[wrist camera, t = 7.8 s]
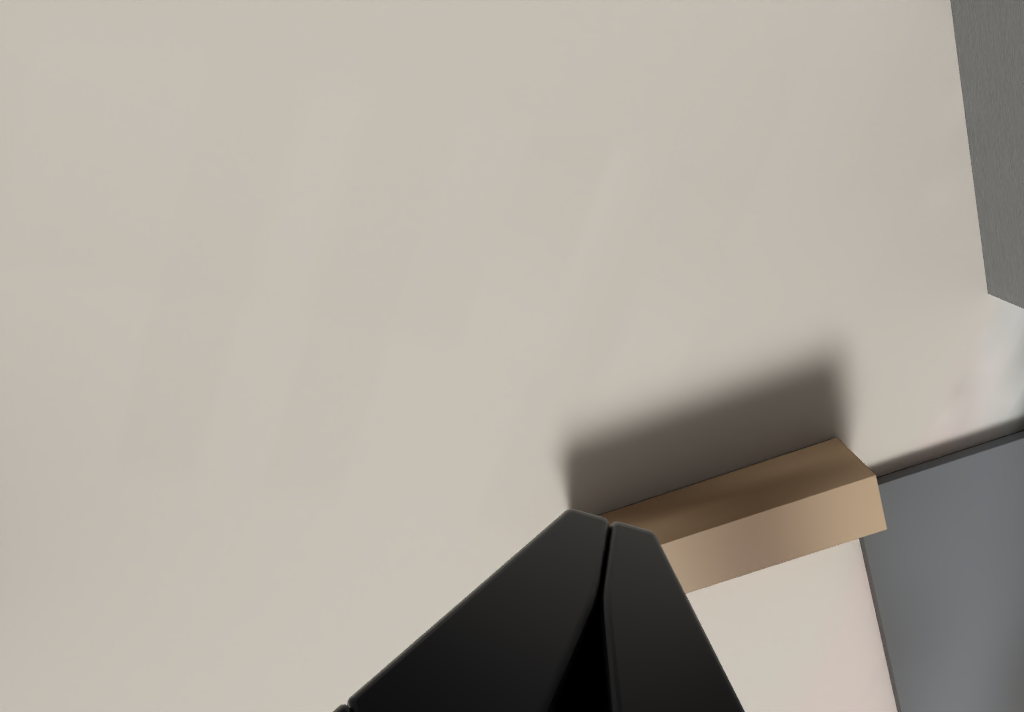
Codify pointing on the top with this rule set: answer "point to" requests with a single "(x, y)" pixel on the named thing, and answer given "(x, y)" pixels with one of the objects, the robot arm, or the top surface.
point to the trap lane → (880, 555)
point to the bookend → (995, 132)
